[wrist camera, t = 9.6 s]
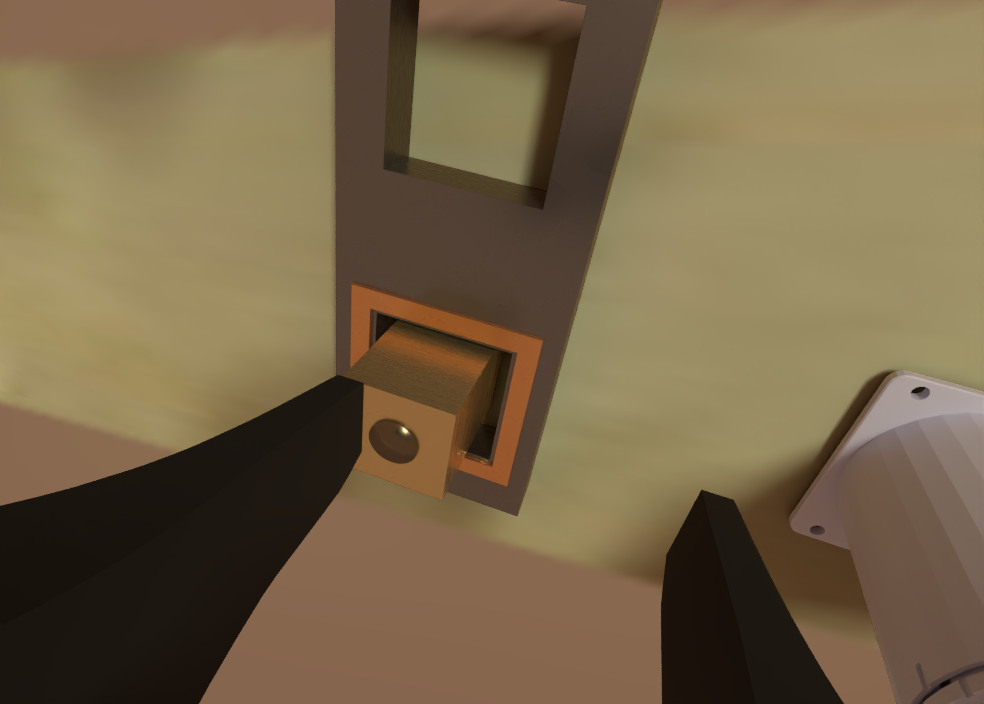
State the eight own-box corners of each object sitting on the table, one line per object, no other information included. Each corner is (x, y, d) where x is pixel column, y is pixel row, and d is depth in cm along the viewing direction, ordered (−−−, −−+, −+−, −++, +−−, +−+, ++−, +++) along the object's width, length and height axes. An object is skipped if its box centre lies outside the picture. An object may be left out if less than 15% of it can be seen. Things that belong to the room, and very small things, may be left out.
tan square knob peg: (507, 327, 22) (454, 417, 17) (491, 403, 24) (441, 502, 19) (416, 300, 23) (340, 378, 18) (409, 376, 25) (339, 465, 20)
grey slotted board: (692, -107, 14) (692, -125, 12) (527, 485, 26) (516, 519, 24) (372, -155, 16) (331, -177, 14) (357, 426, 28) (334, 454, 26)
